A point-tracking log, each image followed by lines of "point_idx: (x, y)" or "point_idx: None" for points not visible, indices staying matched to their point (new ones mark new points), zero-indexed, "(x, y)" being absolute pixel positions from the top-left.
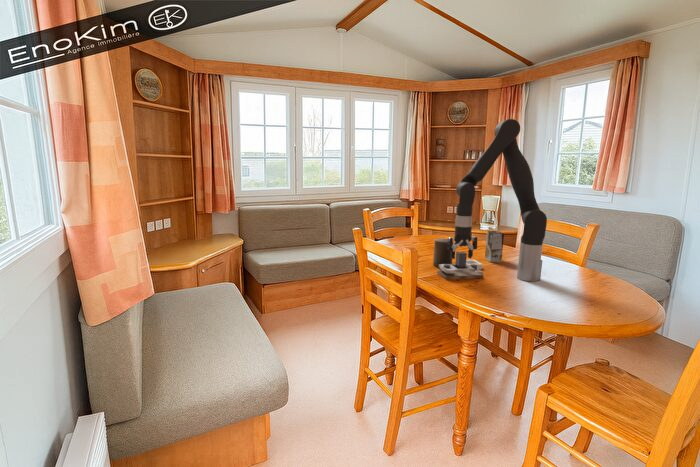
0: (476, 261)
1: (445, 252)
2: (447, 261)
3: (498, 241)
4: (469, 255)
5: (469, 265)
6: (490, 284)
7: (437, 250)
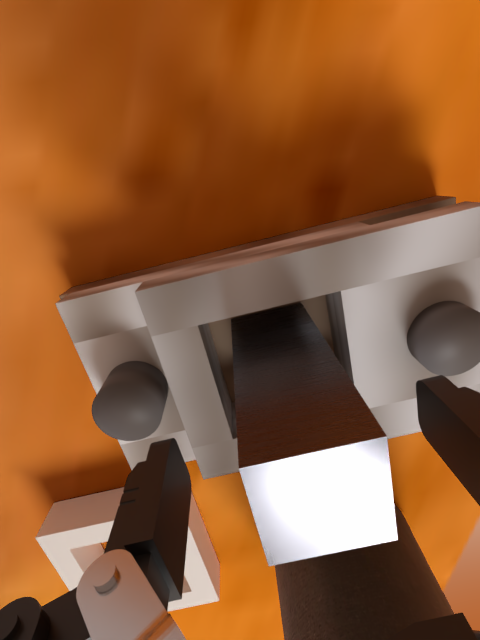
0: None
1: (395, 630)
2: None
3: None
4: (175, 480)
5: None
6: (18, 79)
7: None
